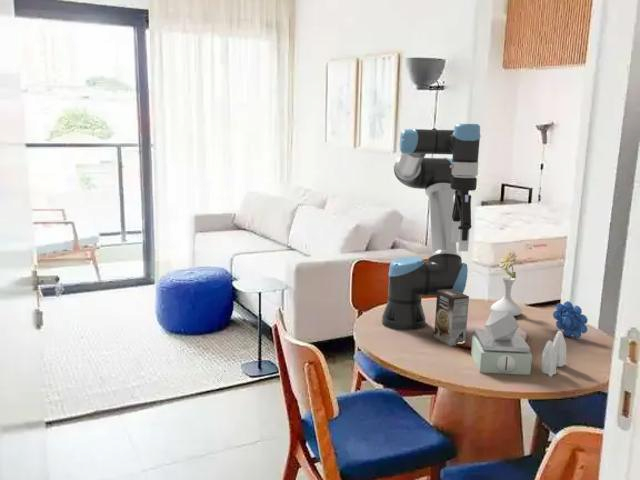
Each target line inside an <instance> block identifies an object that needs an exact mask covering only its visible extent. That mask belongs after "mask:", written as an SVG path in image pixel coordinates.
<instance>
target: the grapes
mask: <svg viewBox="0 0 640 480" xmlns="http://www.w3.org/2000/svg"><path fill="white" fill-rule="evenodd" d="M555 307H556V308H555V309H556V310H555V311H553V314H552V316H553V318H554V319H555V320H556V322H555V325H556V328H557V329H559V331H563V332H562V333H563V335H565V337H568V338H569V337H572V336H573V337H574V338H575V339H580V338H581V337H582V334H586V333H588V327H587V325H586V324H587V323H588V317H587V316H586V315H585V314H582V313H583V311H582V308H581V307H580V306H579V305H573V303H572V302H570V301H568V300H567V301H564V303H563V304H562V303H561V302H560V303H559V302H558V303H557V304H556V305H555Z"/></svg>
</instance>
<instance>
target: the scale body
mask: <svg viewBox="0 0 640 480" xmlns="http://www.w3.org/2000/svg"><path fill="white" fill-rule="evenodd" d="M470 352H471V353H470V355H471V357H472V358H473V361H474V363H475V365H476V367H477V369H478V371H479V373H482V374H483V373H485V374H504V375H505V374H506V375H527V376H530V375H531V369H532V358H533V354H532V353H531V351H530V352H518V351H496V350H483V349H482V347H481V345H480V343H479V342H478V340H477V338H476V336H475V334H473V335H472V336H471V350H470Z"/></svg>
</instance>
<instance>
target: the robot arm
mask: <svg viewBox="0 0 640 480" xmlns="http://www.w3.org/2000/svg"><path fill="white" fill-rule="evenodd" d="M480 139H481V126H480V124H478V123H456V124H455V125H454V128H453V129H427V128H426V129H425V128H424V129H423V128H419V129H417V128H406V129H403V130H401V132H400V136H399V151H400V153H401V154H400V156H399V157H398V158H397V159H396V161H395V162H394V165H393V173H394V175H395V178H396V179H397V180H398V181H399V183H401V184H403V185H404V186H406V187H408V188H411V189H417V190H418V189H419V190H425V196H427V197H429V209H430V211H429V213H430V214H429V215H430V233H431V237H430V238H431V255H430V256H429V257H428V258H427V262H425V260H424V259H423V257H419V256H405V257H400V258H396V259H393V260H392V261H391V262H390V264H389V271H388V273H387V274H388V289H387V291H388V292H387V303H386V304H385V307H384V311H383V313H382V315H381V323H382V324H383V326H385V327H387V328H389V329H394V330H400V331H416V330H417V331H418V330H420V329H423V328H424V327H425V326H426V316H425V312H424V309H423V305H422V304H423V303H422V296H424V297H437V290H445V289H448V290H449V289H454V290H456V291H458V292H460V293H462V294H464V293H465V290H466V285H467V281H468V271H469V270H468V269H469V268H468V264H467V263H465V262H463V261H462V260H463V259H462V256H461V255H459V254H458V252H469V241H470V231H471V230H470V229H472V207H471V205H472V195H471V194H469V191H475V190H477V182H478V181H477V180H478V178H477V176H478V171H479V170H478V169H479V154H480V153H479V152H480ZM426 155H452V157H451V158H448V157H442V158H441V157H426ZM457 243H458V249H457ZM457 251H458V252H457Z"/></svg>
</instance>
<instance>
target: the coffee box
mask: <svg viewBox="0 0 640 480" xmlns="http://www.w3.org/2000/svg"><path fill="white" fill-rule="evenodd" d="M469 301H470V296H469V295H466V293H465V294H464V293H463V294H462V293H460V292H458V291H456V290H454V289H449V290H448V289H445V290H437V296H436V307H435V319H434V320H435V322H434V334H433V335H434V338H435V339H437V340H439V341H441V342H442V343H444V344H446V345H447V346H449V347H452V346H457V345H456V344H457V343H458V342H463V341H465V342H466V341H467V340H466V339H467V337H466V336H467V326H468V313H469V303H470V302H469Z"/></svg>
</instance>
